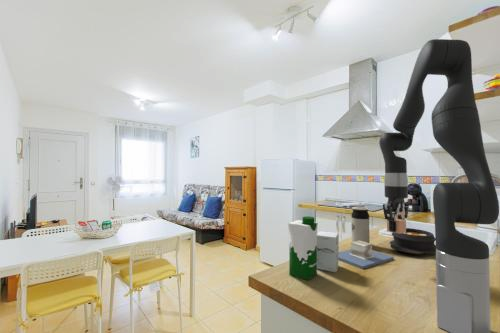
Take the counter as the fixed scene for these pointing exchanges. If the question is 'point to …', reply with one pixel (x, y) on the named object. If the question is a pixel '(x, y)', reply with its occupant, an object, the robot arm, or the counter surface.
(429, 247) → the casserole
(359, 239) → the travel mug
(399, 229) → the terracotta cube
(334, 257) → the supplement box
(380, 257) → the blue board
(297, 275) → the milk carton
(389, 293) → the counter surface
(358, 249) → the cream block
